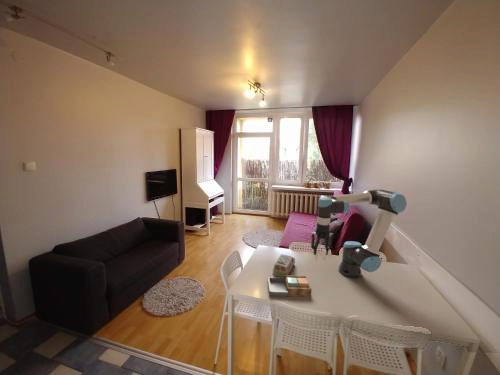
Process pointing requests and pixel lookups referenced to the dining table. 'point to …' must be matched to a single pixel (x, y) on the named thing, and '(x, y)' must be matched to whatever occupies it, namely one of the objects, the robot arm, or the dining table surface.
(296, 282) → the tile
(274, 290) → the box
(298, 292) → the brown wooden tray
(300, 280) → the tile
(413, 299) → the dining table surface
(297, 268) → the dining table surface
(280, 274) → the toy car
